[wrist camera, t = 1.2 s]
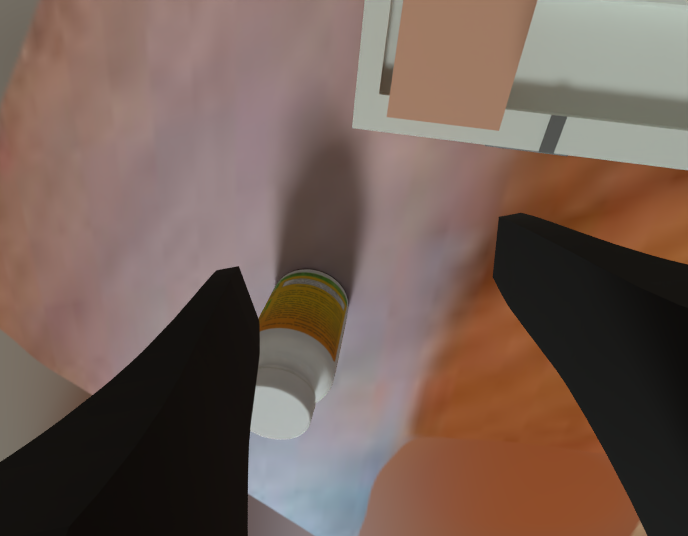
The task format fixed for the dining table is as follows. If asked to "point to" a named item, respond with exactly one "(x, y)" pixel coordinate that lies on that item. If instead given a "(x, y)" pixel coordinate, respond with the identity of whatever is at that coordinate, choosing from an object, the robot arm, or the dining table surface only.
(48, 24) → the dining table surface
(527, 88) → the beam
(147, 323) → the dining table surface
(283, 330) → the supplement bottle
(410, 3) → the rider
